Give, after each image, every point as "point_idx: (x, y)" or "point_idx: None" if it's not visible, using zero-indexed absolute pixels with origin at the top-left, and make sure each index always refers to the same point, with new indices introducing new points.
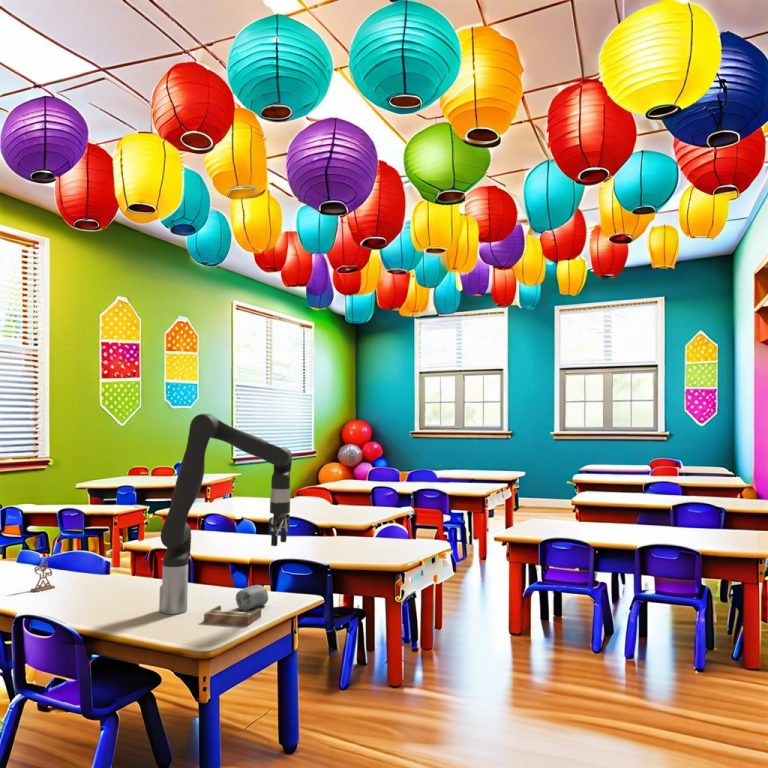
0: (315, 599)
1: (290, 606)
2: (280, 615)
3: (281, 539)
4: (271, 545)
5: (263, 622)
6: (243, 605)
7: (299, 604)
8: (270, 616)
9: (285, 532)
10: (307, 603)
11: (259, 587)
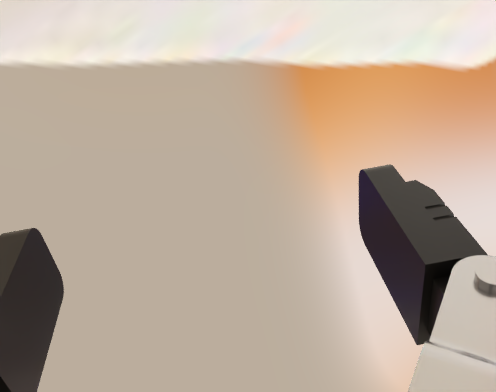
0: (482, 55)
1: (324, 7)
2: (158, 52)
3: (372, 199)
4: (6, 233)
5: (11, 44)
6: None
7: (374, 30)
8: (116, 15)
9: (424, 335)
10: (402, 58)
11: None
